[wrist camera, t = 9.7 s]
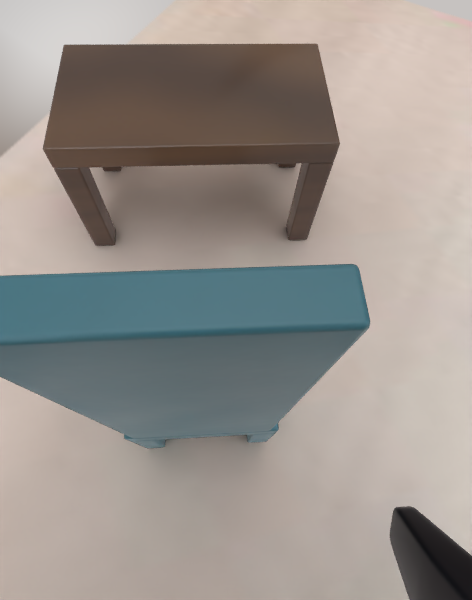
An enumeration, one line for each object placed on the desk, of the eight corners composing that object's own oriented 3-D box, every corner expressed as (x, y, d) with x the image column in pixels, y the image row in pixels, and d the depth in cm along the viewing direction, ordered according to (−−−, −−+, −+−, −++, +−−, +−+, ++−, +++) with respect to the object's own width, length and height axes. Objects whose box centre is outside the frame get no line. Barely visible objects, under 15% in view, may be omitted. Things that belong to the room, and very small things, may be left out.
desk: (307, 239, 21) (340, 143, 15) (95, 246, 20) (41, 149, 14) (293, 154, 23) (318, 43, 17) (104, 158, 23) (63, 43, 17)
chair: (266, 441, 16) (398, 326, 4) (145, 448, 16) (-103, 347, 4) (257, 329, 18) (325, 28, 6) (150, 333, 18) (-1, 29, 6)
